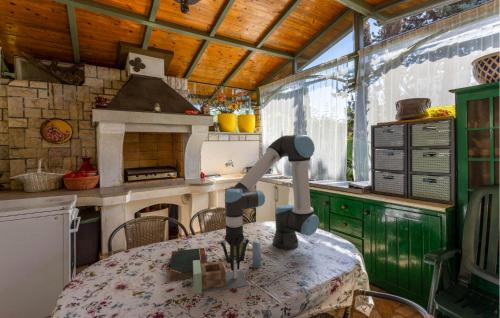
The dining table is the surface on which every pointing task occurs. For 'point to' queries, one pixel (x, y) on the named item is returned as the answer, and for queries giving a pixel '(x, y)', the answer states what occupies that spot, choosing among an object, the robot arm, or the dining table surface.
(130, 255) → the dining table surface
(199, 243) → the dining table surface
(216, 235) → the dining table surface
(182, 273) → the book
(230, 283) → the runner mat
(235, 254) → the plant pot
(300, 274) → the dining table surface
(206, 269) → the socket block
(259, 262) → the dowel
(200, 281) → the wall
